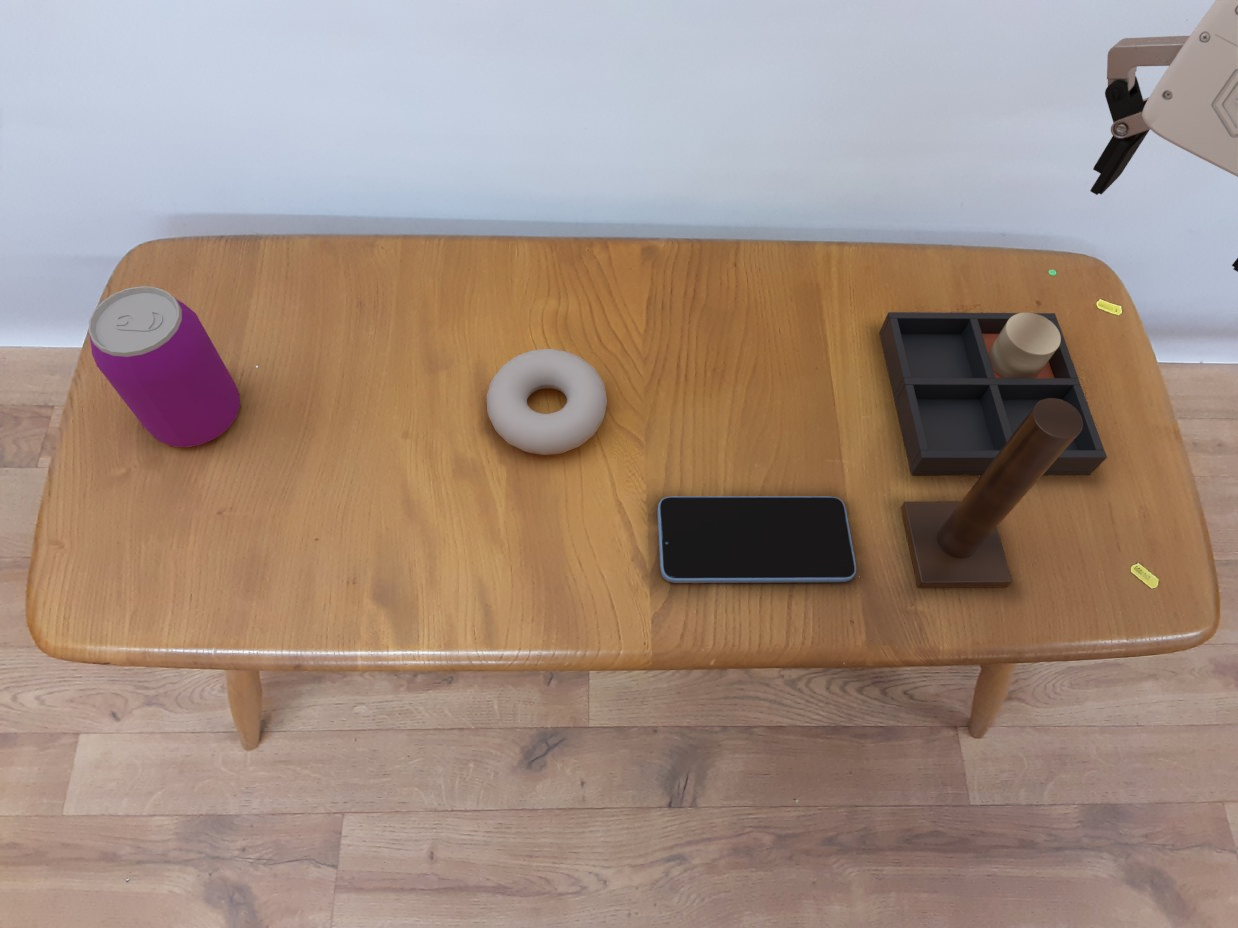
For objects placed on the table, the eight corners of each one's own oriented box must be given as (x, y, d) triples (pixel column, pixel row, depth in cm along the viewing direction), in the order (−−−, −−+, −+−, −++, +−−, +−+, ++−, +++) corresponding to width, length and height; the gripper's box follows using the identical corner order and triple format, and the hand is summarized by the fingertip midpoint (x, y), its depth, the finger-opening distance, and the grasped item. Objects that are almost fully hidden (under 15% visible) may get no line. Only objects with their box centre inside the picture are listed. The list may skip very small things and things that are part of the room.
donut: (483, 462, 72) (606, 464, 72) (478, 439, 69) (606, 441, 69) (493, 364, 77) (608, 366, 77) (489, 338, 74) (608, 341, 74)
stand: (1007, 587, 68) (1132, 466, 52) (917, 587, 68) (1016, 467, 52) (985, 506, 71) (1096, 372, 56) (900, 507, 71) (988, 371, 56)
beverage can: (139, 456, 71) (65, 364, 61) (156, 378, 75) (89, 280, 65) (238, 450, 72) (181, 358, 61) (249, 374, 76) (197, 276, 65)
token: (1049, 362, 78) (1071, 333, 75) (1022, 391, 77) (1043, 363, 73) (1005, 333, 80) (1024, 303, 76) (977, 361, 78) (995, 332, 75)
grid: (1090, 475, 73) (1107, 457, 71) (911, 475, 73) (922, 457, 70) (1041, 333, 81) (1055, 312, 79) (878, 332, 80) (888, 311, 78)
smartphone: (859, 578, 67) (661, 580, 66) (856, 583, 67) (660, 585, 67) (844, 493, 70) (657, 493, 70) (841, 498, 71) (656, 498, 70)
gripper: (1171, -92, 44) (1025, 182, 59) (1547, 63, 38) (1280, 325, 53) (1233, -141, 47) (1079, 132, 62) (1590, -5, 41) (1326, 261, 56)
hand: (1172, 220), depth 57 cm, fingers open, 9 cm apart
